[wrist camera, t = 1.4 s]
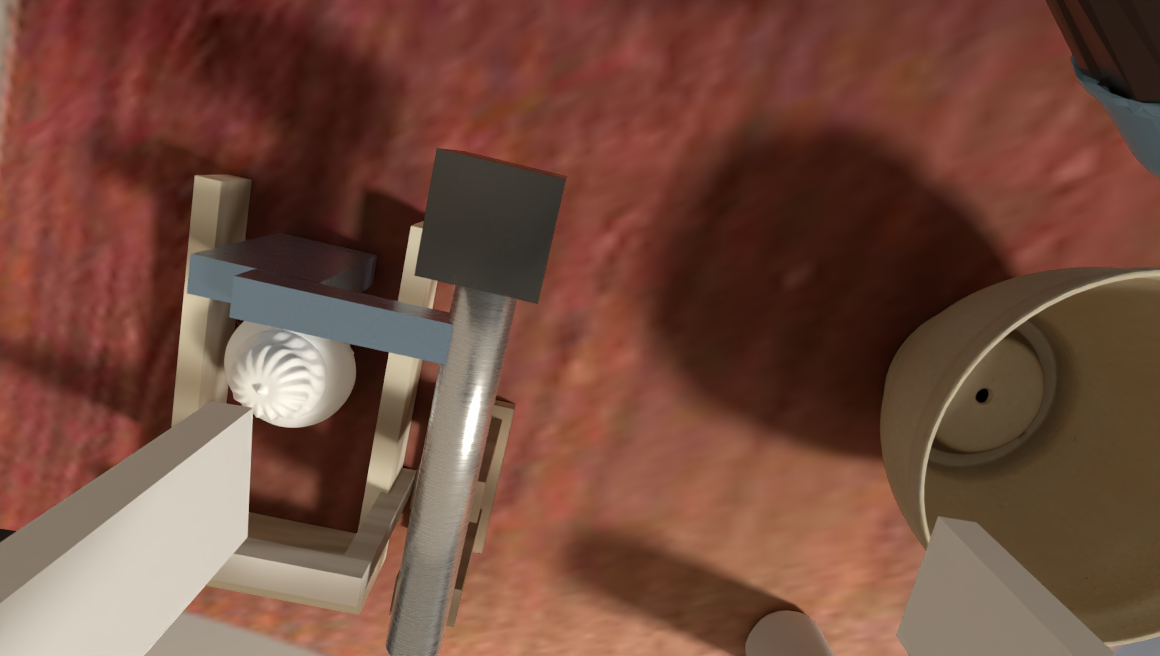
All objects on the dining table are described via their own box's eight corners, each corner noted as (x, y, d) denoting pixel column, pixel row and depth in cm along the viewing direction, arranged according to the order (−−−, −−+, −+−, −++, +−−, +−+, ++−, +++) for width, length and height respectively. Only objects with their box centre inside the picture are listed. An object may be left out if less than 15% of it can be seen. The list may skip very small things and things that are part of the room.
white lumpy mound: (256, 391, 36) (183, 445, 29) (262, 282, 34) (187, 312, 28) (369, 409, 36) (324, 466, 30) (381, 302, 35) (335, 336, 28)
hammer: (295, 106, 32) (116, 70, 19) (567, 173, 33) (565, 179, 20) (246, 492, 37) (78, 662, 24) (484, 540, 38) (441, 728, 25)
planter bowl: (1150, 252, 35) (1403, 291, 24) (1066, 525, 39) (1253, 661, 28) (851, 223, 34) (977, 250, 24) (797, 504, 38) (884, 634, 28)
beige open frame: (211, 170, 33) (60, 173, 23) (463, 229, 34) (419, 256, 24) (177, 516, 38) (38, 640, 28) (399, 560, 39) (340, 696, 29)
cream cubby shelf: (443, 388, 36) (408, 450, 28) (515, 404, 36) (500, 469, 29) (415, 531, 38) (375, 626, 30) (483, 545, 38) (461, 642, 31)
